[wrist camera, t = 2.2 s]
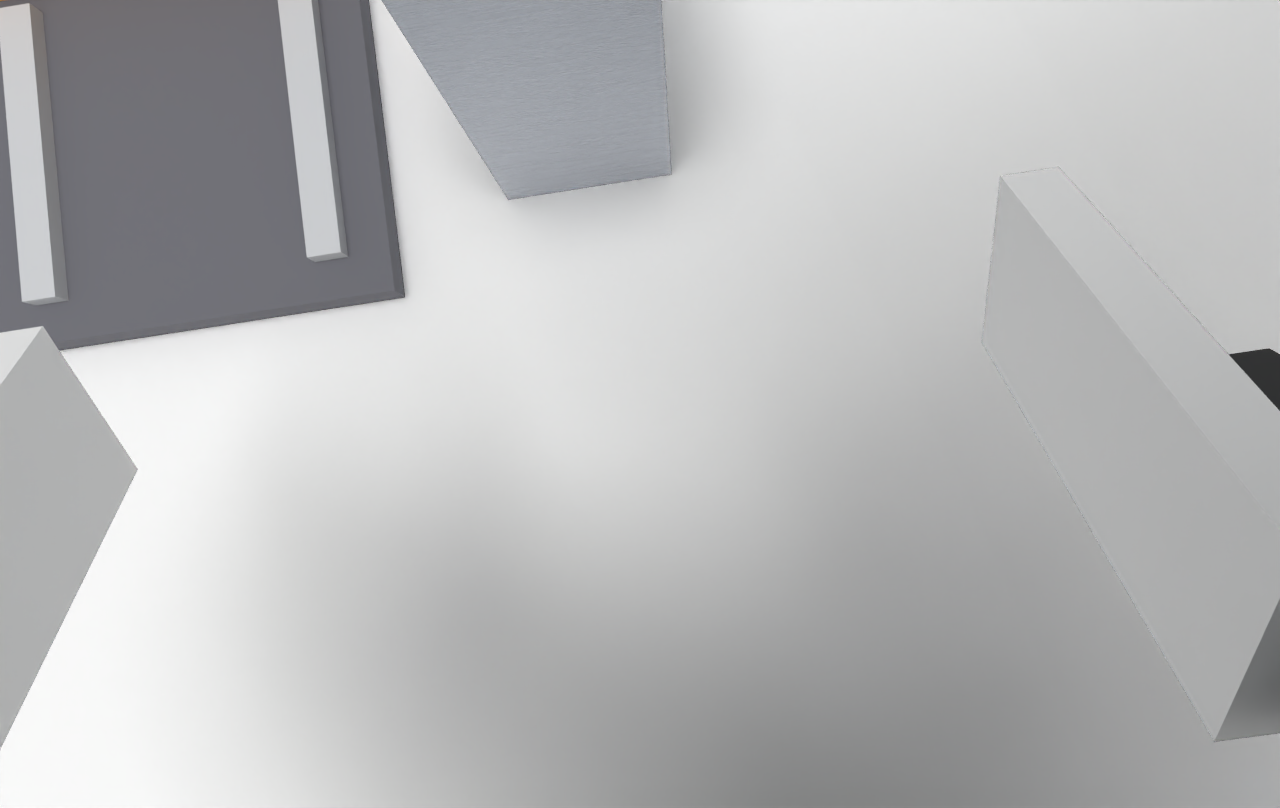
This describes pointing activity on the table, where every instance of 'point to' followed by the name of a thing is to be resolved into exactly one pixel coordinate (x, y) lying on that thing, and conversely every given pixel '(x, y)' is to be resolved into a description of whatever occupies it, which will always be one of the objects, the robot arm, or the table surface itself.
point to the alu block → (549, 86)
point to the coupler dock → (189, 165)
